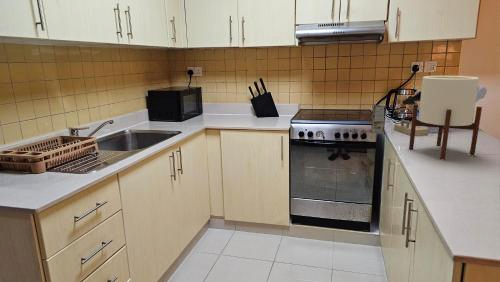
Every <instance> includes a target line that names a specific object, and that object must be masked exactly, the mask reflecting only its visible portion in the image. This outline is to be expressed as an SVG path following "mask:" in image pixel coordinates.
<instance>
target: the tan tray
mask: <svg viewBox="0 0 500 282" xmlns="http://www.w3.org/2000/svg"><path fill="white" fill-rule="evenodd" d="M393 125H394V124H393ZM393 130H394V131H395V132H396V131H397V132H399V133H403V134H404V135H408V136H410V134H411V130H408V129H405V128H402V127H399V126H396V125H394V127H393ZM428 135H429V131H428V130H424V131H415V137H422V136H423V137H424V136H428Z"/></svg>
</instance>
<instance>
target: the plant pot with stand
mask: <svg viewBox="0 0 500 282" xmlns="http://www.w3.org/2000/svg"><path fill="white" fill-rule="evenodd" d="M479 81H480V78H479V77H477V76H467V75H427V76H425V75H424V76H423V77H422V81H421V90H420V91H421V99H420V102H419V104H418V103H415V104H413V106H412V107H413V108H412V114H411V115H412V116H411V117H412V118H411V124H412V125H411V134H410V135H409V144H408V149H409V150H410V151H413V150H414V146H415V145H414V144H415V137H416V136H415V129H416V126H419V127H423V128H427V127H439V129H438V132H437V137H436V138H437V139H436V146H437V147H441V149H440V158H439V160H441V159H445V160H446V155H447V147H448V146H447V145H448V140H449V131H450V129H453V130H454V129H457V130H469V131H470V130H471V131H472V136H471V143H470V149H469V155H470V154H471V155H470V156H472V155H474V154H475V155H476V148H477V142H478V135H479V129H480V122H481V117H482V110H483V106H476V103H477V102H476V96H477V90H478V86H479ZM475 108H476V111H475ZM418 109H419V111H418ZM474 114H475V116H474ZM473 121H474V122H473ZM443 130H444V132H443ZM475 155H474V156H475Z"/></svg>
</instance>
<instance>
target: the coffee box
mask: <svg viewBox="0 0 500 282" xmlns="http://www.w3.org/2000/svg"><path fill="white" fill-rule="evenodd" d="M386 115H387V106H386V105H384V104H374V105H372V117H371V119H372V120H371V132H372V134H380V135H381V134H385V126H386V125H385V124H386Z"/></svg>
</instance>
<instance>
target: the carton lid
mask: <svg viewBox="0 0 500 282" xmlns="http://www.w3.org/2000/svg"><path fill="white" fill-rule="evenodd" d="M393 125H396V126H399V127H402V128H405V129H408V130H411V125H412V123H411V121H410V120H405V119H400V123H395V124H393ZM424 130H428V129H427V127H424V126H416V129H415V131H424Z"/></svg>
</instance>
